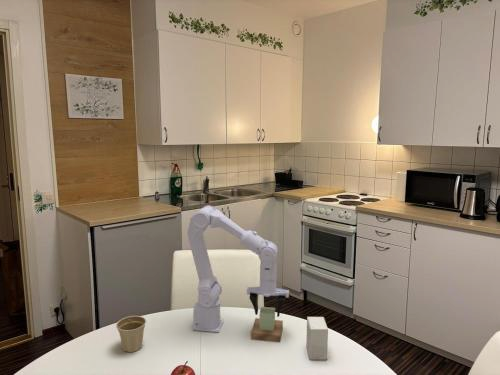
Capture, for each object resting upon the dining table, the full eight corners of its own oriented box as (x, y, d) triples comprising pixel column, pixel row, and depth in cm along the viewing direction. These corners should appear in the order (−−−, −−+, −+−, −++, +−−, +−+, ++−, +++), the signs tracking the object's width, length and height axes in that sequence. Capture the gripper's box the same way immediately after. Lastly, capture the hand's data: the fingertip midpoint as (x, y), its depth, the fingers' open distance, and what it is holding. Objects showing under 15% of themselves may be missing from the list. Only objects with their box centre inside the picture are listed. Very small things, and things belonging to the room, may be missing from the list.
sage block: (259, 329, 131) (259, 313, 130) (260, 322, 135) (261, 306, 134) (273, 330, 130) (274, 314, 129) (274, 323, 135) (275, 307, 134)
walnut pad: (251, 340, 129) (251, 332, 129) (255, 325, 139) (255, 318, 138) (280, 343, 128) (280, 335, 127) (282, 328, 137) (282, 320, 137)
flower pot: (112, 347, 124) (110, 323, 123) (137, 335, 131) (136, 312, 130) (126, 359, 118) (125, 333, 116) (152, 346, 125) (151, 322, 123)
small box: (327, 360, 118) (328, 329, 116) (309, 360, 118) (310, 329, 116) (322, 345, 126) (324, 316, 124) (306, 345, 126) (307, 316, 124)
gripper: (245, 280, 127) (245, 318, 129) (288, 284, 125) (287, 322, 127) (248, 272, 134) (248, 308, 136) (289, 275, 132) (288, 311, 134)
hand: (267, 314), depth 132 cm, fingers open, 7 cm apart
